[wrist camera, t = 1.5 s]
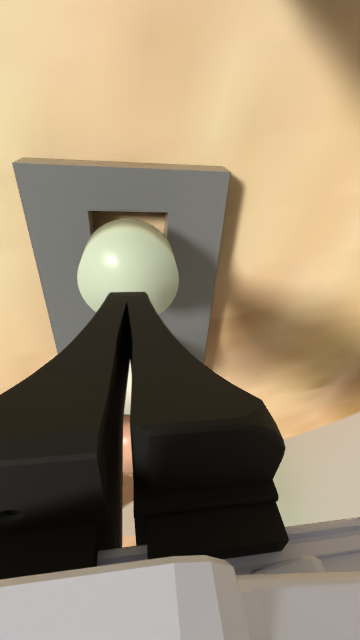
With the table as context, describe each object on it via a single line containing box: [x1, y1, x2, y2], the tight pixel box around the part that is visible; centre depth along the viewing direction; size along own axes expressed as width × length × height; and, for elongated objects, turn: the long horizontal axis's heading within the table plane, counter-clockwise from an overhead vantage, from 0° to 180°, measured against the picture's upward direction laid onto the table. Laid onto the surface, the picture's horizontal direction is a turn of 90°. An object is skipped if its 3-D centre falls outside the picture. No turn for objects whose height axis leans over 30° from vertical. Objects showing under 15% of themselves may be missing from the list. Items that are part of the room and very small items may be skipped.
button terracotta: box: [123, 414, 133, 473], centre depth 23 cm, size 4×4×4 cm
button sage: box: [77, 218, 179, 315], centre depth 15 cm, size 4×4×4 cm
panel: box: [12, 158, 230, 364], centre depth 21 cm, size 22×10×2 cm, turn 177°
